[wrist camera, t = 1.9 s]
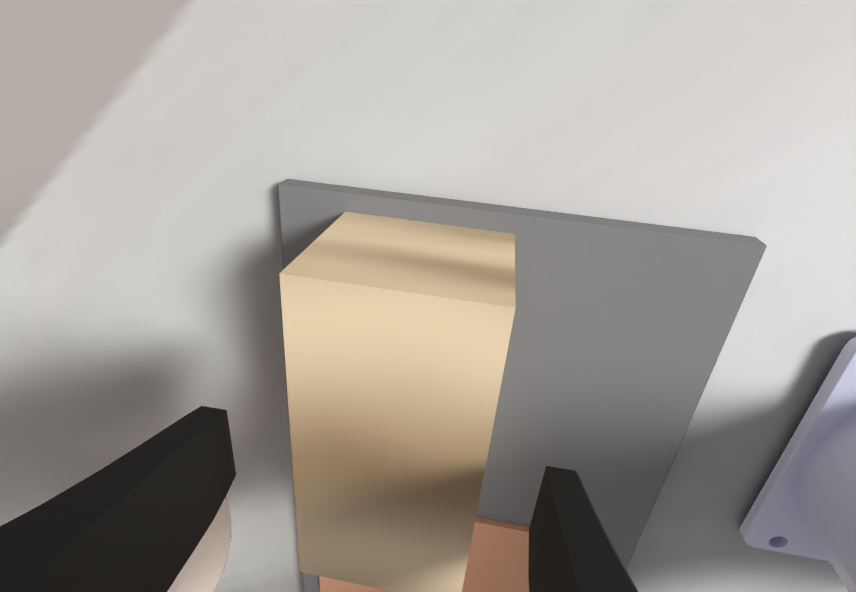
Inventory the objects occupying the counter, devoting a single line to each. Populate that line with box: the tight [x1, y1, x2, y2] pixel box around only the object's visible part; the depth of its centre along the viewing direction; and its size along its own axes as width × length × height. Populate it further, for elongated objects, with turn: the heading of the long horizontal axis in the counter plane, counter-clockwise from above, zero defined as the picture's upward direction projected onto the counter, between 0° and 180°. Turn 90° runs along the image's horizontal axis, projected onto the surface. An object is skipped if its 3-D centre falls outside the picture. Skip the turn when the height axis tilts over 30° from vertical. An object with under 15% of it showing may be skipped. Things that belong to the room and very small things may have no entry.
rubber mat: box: [278, 179, 766, 592], centre depth 17 cm, size 12×20×1 cm, turn 175°
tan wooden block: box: [279, 212, 516, 592], centre depth 13 cm, size 9×4×4 cm, turn 175°
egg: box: [167, 497, 232, 592], centre depth 16 cm, size 5×5×7 cm
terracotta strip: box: [319, 517, 529, 592], centre depth 18 cm, size 10×6×1 cm, turn 85°
